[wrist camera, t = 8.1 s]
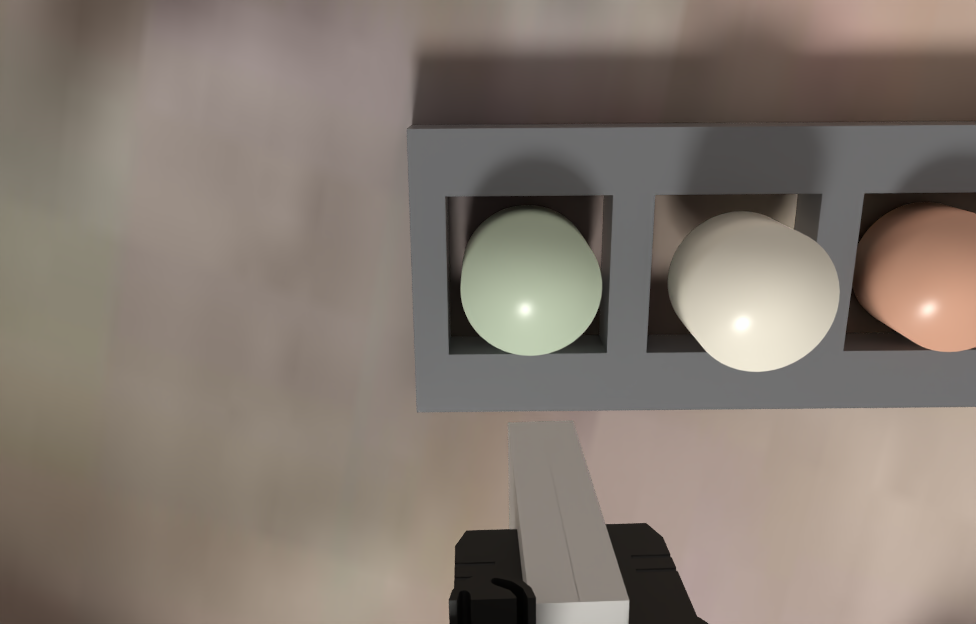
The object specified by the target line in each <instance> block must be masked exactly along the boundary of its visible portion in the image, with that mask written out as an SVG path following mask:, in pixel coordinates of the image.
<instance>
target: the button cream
mask: <svg viewBox="0 0 976 624" xmlns="http://www.w3.org/2000/svg"><path fill="white" fill-rule="evenodd" d="M668 292H669V298H670V301H671V304H672V306H673V309H674V311H675V313H676V314H677V316H678V317H679V319H680V320H681V321H682V323H683V324H684V325H685V326H686V327H687V329H688V330H689V331H690V332H691V334H692V335H693V336H694V337H695V339H696V340H697V341H698V342H699V343H700V345H701V346H702V347H703V348H704V349H705V351H706V352H707V353H708V354H710V355H711V356H712V357H713V358H714V359H716V360H717V361H719V362H720V363H722V364H724V365H726V366H729V367H731V368H734V369H738V370H743V371H750V372H762V371H770V370H775V369H779V368H782V367H785V366H787V365H790V364H792V363H794V362H796V361H798V360H799V359H801V358H803V357H804V356H805V355H807V354H808V353H809V352H811V351H812V350H813V349H814V348H815V347H816V346H817V345H818V344H819V343H820V342H821V340H822V339H823V338H824V337H825V335H826V334H827V332H828V330H829V329H830V327H831V325H832V323H833V321H834V318H835V315H836V313H837V309H838V304H839V295H840V289H839V280H838V275H837V272H836V269H835V266H834V264H833V262H832V260H831V259H830V257H829V255H828V254H827V253H826V251H825V250H824V249H823V248H822V247H821V246H820V245H819V244H818V243H817V242H815V241H814V240H813V239H811V238H810V237H808V236H806V235H804V234H802V233H800V232H798V231H796V230H794V229H792V228H790V227H788V226H786V225H784V224H782V223H780V222H778V221H776V220H774V219H772V218H770V217H768V216H766V215H763V214H760V213H755V212H749V211H736V212H729V213H724V214H721V215H718V216H715V217H712V218H710V219H708V220H706V221H705V222H703V223H701V224H700V225H698V226H697V227H696V228H695V229H693V230H692V231H691V232H690V233H689V234H688V235H687V236H686V237H685V238H684V240H683V241H682V242H681V244H680V245H679V247H678V248H677V250H676V252H675V254H674V256H673V259H672V261H671V264H670V268H669V274H668Z"/></svg>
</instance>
